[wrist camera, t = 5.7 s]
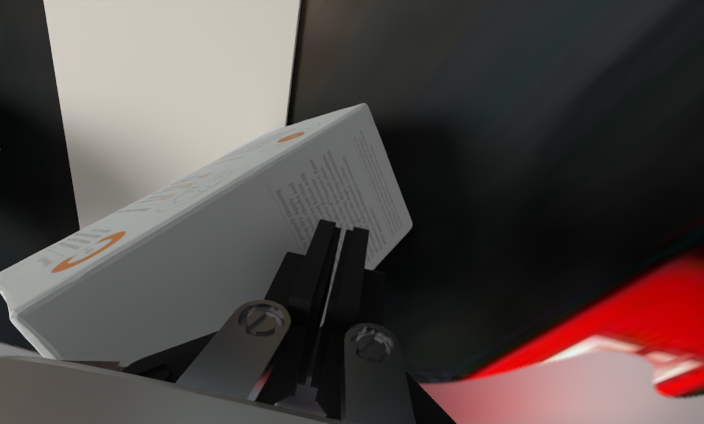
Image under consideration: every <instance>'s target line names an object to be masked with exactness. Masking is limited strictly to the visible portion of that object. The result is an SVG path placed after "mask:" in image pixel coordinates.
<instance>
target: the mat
mask: <svg viewBox="0 0 704 424" xmlns="http://www.w3.org/2000/svg"><path fill="white" fill-rule="evenodd" d="M44 6H45V12H46V18H47V25H48V31H49V37H50V44H51V50H52V56H53V62H54V69H55V75H56V81H57V88H58V94H59V100H60V106H61V113H62V119H63V125H64V132H65V138H66V144H67V150H68V157H69V163H70V169H71V176H72V182H73V188H74V194H75V201H76V207H77V213H78V220H79V226H80V230H82V229H84V228H86V227H87V226H89V225H91V224H93V223H95V222H97V221H99V220H101V219H103V218H105V217H107V216H109V215H110V214H112V213H114V212H116V211H118V210H120V209H122V208H124V207H126V206H128V205H130V204H132V203H134V202H136V201H138V200H140V199H141V198H143V197H145V196H147V195H149V194H151V193H153V192H155V191H157V190H159V189H161V188H163V187H165V186H167V185H169V184H171V183H173V182H175V181H177V180H179V179H181V178H183V177H185V176H187V175H189V174H190V173H192V172H194V171H196V170H198V169H200V168H202V167H204V166H206V165H208V164H210V163H212V162H213V161H215V160H217V159H219V158H221V157H223V156H224V155H226V154H228V153H230V152H232V151H234V150H236V149H237V148H239V147H241V146H243V145H245V144H247V143H249V142H250V141H252V140H254V139H256V138H258V137H260V136H262V135H263V134H266V133H268V132H271V131H274V130H277V129H280V128H283V127H286V126H287V118H288V110H289V101H290V93H291V84H292V76H293V67H294V59H295V50H296V42H297V33H298V24H299V16H300V7H301V0H44Z"/></svg>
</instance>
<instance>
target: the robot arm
mask: <svg viewBox="0 0 704 424" xmlns="http://www.w3.org/2000/svg"><path fill="white" fill-rule="evenodd" d="M340 234H341V228H339V227H336V222H332V221H327V220H323V219H320V220H319V223H318V225H317V228H316V230H315V233H314V235H313V238H312V240H311V243H310V245H309V248H308V250H307V253H306V255H302V254H297V253H293V252H287V253H286V255H285V257H284V259H283V261H282V263H281V265H280V267H279V269H278V271H277V273H276V275H275V277H274V279H273V281H272V283H271V286H270V288H269V290H268V292H267V294H266V296H265V298H264V300H254V301H249V302H247V303H245V304H243V305H241V306H240V307H239V308H238V309H236V310H235V312H234V313H233V314H232V315H231V316H230V318H229V319H228V320H227V321H226V322H225V324H224V325H223V326H222V327H221V328H220V330H219V331H216V332H213V333H211V334H208V335H205V336H202V337H200V338H197V339H194V340H191V341H188V342H186V343H183V344H180V345H177V346H175V347H172V348H169V349H166V350H163V351H161V352H158V353H155V354H152V355H149V356H147V357H144V358H141V359H139V360H137V361H135V362H133V363H131V364H130V365H129V366H127V367H120V361H71V360H54V359H48V358H38V357H28V356H27V357H26V356H0V424H456V423H455V422H454V420H453V419H452V418H451V417H450V416H449V415H448V414H447V413H446V412H445V411H444V410H443V409H442V408H441V407H440V406H439V405H438V404H437V403H436V402H435V401H434V400H433V399H432V398H431V397H430V396H429V395H428V394H427V392H426V391H424V389H423V388H422V387H421V386H420V385H419V384H418V383H417V382H416V381H415V380H414V379H413V378H412V377H411V376H410V375H409V374H408V373H407V372H406V371H405V367H404V362H403V357H402V352H401V347H400V344H399V342H398V340H397V338H396V337H395V336H394V335H393V333H391V332H390V331H389V330H387V329H386V328H384V327H383V309H384V287H385V273H383V272H378V271H374V270H369V269H365V260H366V253H367V245H368V238H369V230H368V229H363V228H359V227H353V231H352V230H348V229H346V232H345V237H344V241H343V245H342V249H341V253H340V257H339V261H338V265H337V269H336V273H335V277H334V281H333V285H332V289H331V293H330V297H329V301H328V305H327V310H326V314H325V319H324V324H323V329H322V334H321V338H320V343H319V348H318V353H317V358H316V362H315V367H314V372H313V377H312V382H311V387H315V388H318V391H317V395H316V401H317V402H318V403H319V405H320V406H321V408H322V409H323V410H324V412H325V413H326V415H325V417H322V416H317V415H313V414H309V413H305V412H300V411H296V410H291V409H287V408H282V407H278V402H279V401H281V400H283V399H285V398H287V397H289V396H290V395H292V396H294V395H295V391H296V388H297V384H302V385H305V383H306V379H307V375H308V371H309V367H310V363H311V359H312V356H313V352H314V348H315V344H316V340H317V336H318V332H319V328H320V324H321V320H322V317H323V313H324V309H325V305H326V301H327V297H328V292H329V287H330V282H331V277H332V273H333V268H334V263H335V258H336V253H337V248H338V243H339V239H340Z"/></svg>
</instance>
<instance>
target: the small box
mask: <svg viewBox="0 0 704 424" xmlns="http://www.w3.org/2000/svg"><path fill="white" fill-rule="evenodd" d="M320 219H323V220H327V221H332V222H336V227H339V228H341V234H340V239H339V243H338V248H337V253H336V258H335V263H334V268H333V273H332V277H331V282H330V287H329V292H328V297H327V301H326V305H325V309H324V313H323V317H322V320H321V324H320V327H321V326H322V325H323V324H324V319H325V314H326V310H327V305H328V301H329V297H330V293H331V289H332V285H333V281H334V277H335V273H336V269H337V265H338V261H339V257H340V253H341V249H342V245H343V241H344V237H345V232H346V229H348V230H352V231H353V227H359V228H363V229H368V230H369V238H368V245H367V253H366V260H365V269H369V270H374V269H375V268H376V266H377V265H378V264H379V263H380V262H381V261H382V260H383V259H384V258H385V257H386V256H387V254H388V253H389V252H390V251H391V250H392V249H393V248H394V247H395V246H396V245H397V244H398V243H399V242H400V241H401V239H402V238H403V237H404V236H405V235H406V234H407V233H408V232H409V231H410V230H411V228H412V224H413V223H412V220H411V218H410V215H409V212H408V210H407V207H406V205H405V202H404V199H403V197H402V194H401V191H400V189H399V186H398V184H397V181H396V178H395V176H394V173H393V170H392V167H391V165H390V162H389V159H388V157H387V154H386V151H385V148H384V146H383V143H382V140H381V138H380V135H379V132H378V130H377V127H376V125H375V122H374V120H373V117H372V114H371V112H370V110H369V107H368V105H367V104H366V103H363V104H359V105H356V106H352V107H349V108H345V109H342V110H338V111H335V112H332V113H328V114H325V115H322V116H318V117H315V118H312V119H309V120H305V121H302V122H299V123H296V124H293V125H290V126H286V127H283V128H280V129H277V130H274V131H271V132H268V133H266V134H263V135H262V136H260V137H258V138H256V139H254V140H252V141H250V142H249V143H247V144H245V145H243V146H241V147H239V148H237V149H236V150H234V151H232V152H230V153H228V154H226V155H224V156H223V157H221V158H219V159H217V160H215V161H213V162H212V163H210V164H208V165H206V166H204V167H202V168H200V169H198V170H196V171H194V172H192V173H190V174H189V175H187V176H185V177H183V178H181V179H179V180H177V181H175V182H173V183H171V184H169V185H167V186H165V187H163V188H161V189H159V190H157V191H155V192H153V193H151V194H149V195H147V196H145V197H143V198H141V199H140V200H138V201H136V202H134V203H132V204H130V205H128V206H126V207H124V208H122V209H120V210H118V211H116V212H114V213H112V214H110V215H109V216H107V217H105V218H103V219H101V220H99V221H97V222H95V223H93V224H91V225H89V226H87V227H86V228H84V229H82V230H80V231H78V232H76V233H74V234H72V235H70V236H68V237H66V238H65V239H63V240H61V241H59V242H57V243H55V244H53V245H51V246H49V247H47V248H45V249H43V250H41V251H39V252H37V253H36V254H34V255H32V256H30V257H28V258H26V259H24V260H22V261H20V262H18V263H17V264H15V265H13V266H11V267H9V268H7V269H5V270H3V271H1V272H0V293H1V294H2V296H3V297H4V299H5V300H6V302H7V305H8V309H9V315H10V320H11V322H12V323H13V325H14V326H15V327H16V328H17V329H18V330H19V331H20V332H21V333H22V334H23V335H24V336H25V337H26V339H27V340H28V341H29V342H30V343H31V344H32V345H33V346H34V347H35V348H36V349H37V351H38V352H39V353H40V354H41V355H42V356H43V357H44V358H48V359H54V360H71V361H120V367H127V366H129V365H130V364H131V363H133V362H135V361H137V360H139V359H141V358H144V357H147V356H149V355H152V354H155V353H158V352H161V351H163V350H166V349H169V348H172V347H175V346H177V345H180V344H183V343H186V342H188V341H191V340H194V339H197V338H200V337H202V336H205V335H208V334H211V333H213V332H216V331H219V330H220V328H221V327H222V326H223V325H224V324H225V322H226V321H227V320H228V319H229V318H230V316H231V315H232V314H233V313H234V312H235V310H236V309H238V308H239V307H240V306H241V305H243V304H245V303H247V302H249V301H254V300H264V298H265V296H266V294H267V292H268V290H269V288H270V286H271V283H272V281H273V279H274V277H275V275H276V273H277V271H278V269H279V267H280V265H281V263H282V261H283V259H284V257H285V255H286V253H287V252H293V253H297V254H302V255H306V253H307V250H308V248H309V245H310V243H311V240H312V238H313V235H314V233H315V230H316V228H317V225H318V223H319V220H320Z"/></svg>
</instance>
